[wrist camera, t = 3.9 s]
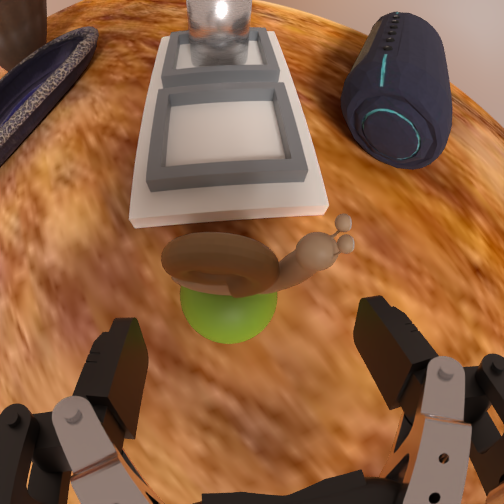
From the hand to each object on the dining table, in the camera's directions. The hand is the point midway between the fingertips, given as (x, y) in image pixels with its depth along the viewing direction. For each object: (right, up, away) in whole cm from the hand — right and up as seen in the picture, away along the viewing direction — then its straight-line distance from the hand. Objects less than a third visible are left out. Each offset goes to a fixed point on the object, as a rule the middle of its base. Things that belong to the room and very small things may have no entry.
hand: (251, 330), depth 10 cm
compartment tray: (-3, +17, +15) cm, 23 cm away
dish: (-29, +20, +15) cm, 38 cm away
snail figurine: (-1, -1, +9) cm, 9 cm away
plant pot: (-38, +35, +20) cm, 55 cm away
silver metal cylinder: (-3, +23, +16) cm, 28 cm away
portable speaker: (+16, +20, +18) cm, 31 cm away
